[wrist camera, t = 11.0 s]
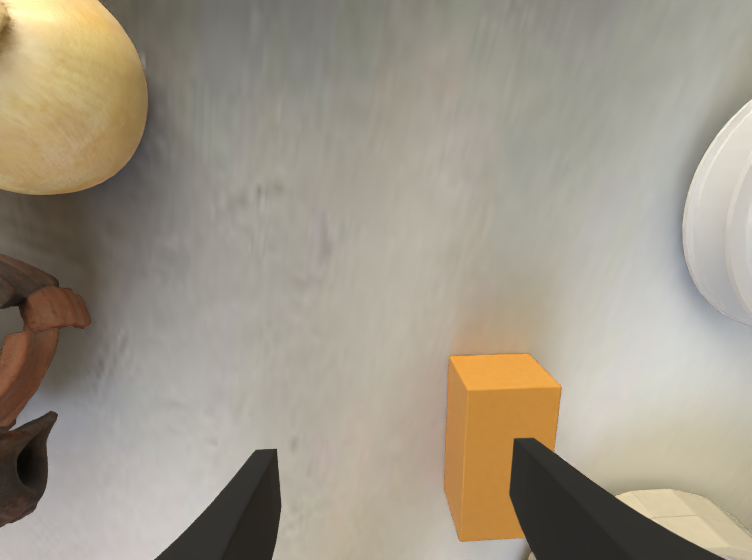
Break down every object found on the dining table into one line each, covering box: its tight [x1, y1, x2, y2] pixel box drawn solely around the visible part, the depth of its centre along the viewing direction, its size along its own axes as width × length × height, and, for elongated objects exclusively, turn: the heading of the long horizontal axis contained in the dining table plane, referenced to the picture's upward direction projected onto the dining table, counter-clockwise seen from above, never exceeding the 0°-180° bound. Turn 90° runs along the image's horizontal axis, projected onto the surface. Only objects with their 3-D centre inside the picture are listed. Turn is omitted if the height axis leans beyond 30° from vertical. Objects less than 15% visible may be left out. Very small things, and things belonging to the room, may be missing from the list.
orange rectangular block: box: [444, 353, 561, 542], centre depth 21 cm, size 8×4×4 cm, turn 1°
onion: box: [0, 0, 148, 195], centre depth 14 cm, size 8×8×7 cm
